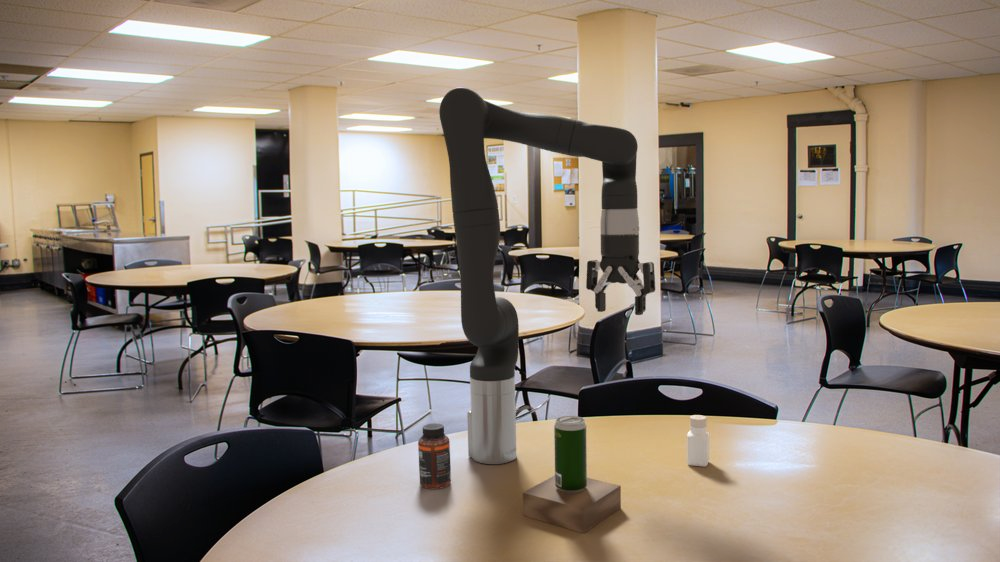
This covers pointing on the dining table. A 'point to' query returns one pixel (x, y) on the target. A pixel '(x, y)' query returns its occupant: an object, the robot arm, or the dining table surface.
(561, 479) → the beer can
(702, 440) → the pepper shaker
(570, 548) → the dining table surface
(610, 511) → the walnut plinth
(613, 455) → the dining table surface
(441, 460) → the supplement bottle
